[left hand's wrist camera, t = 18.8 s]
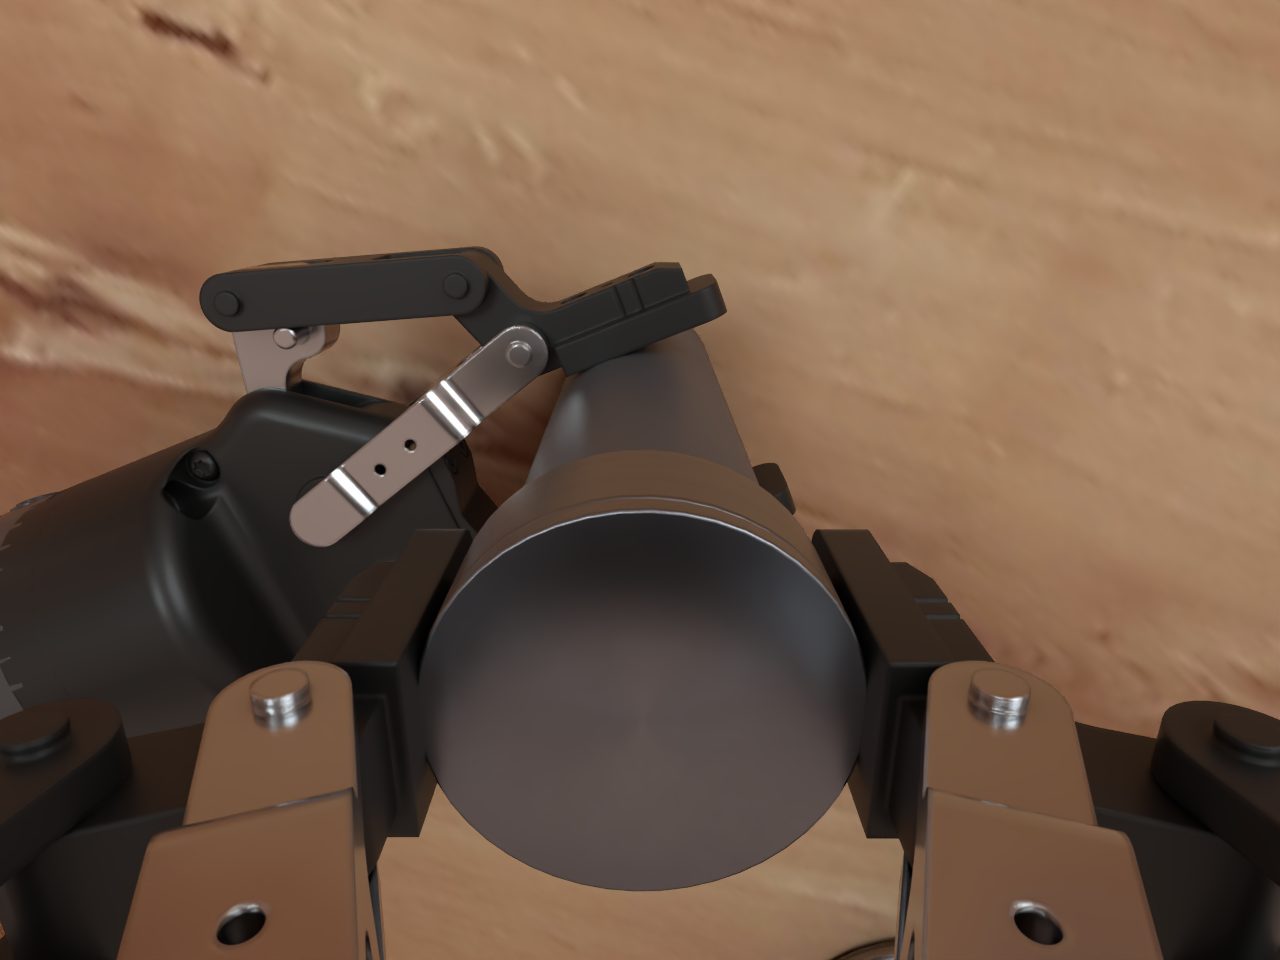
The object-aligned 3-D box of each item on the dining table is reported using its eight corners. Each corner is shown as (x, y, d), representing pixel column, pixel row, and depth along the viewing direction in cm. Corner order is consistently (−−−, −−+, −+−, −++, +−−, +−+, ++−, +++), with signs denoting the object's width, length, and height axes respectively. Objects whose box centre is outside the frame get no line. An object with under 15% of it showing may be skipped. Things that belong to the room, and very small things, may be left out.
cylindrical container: (621, 465, 26) (596, 860, 11) (544, 355, 25) (392, 627, 10) (735, 394, 25) (880, 712, 10) (661, 277, 24) (698, 437, 9)
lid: (853, 455, 10) (902, 518, 8) (807, 783, 12) (840, 898, 10) (445, 440, 10) (399, 500, 8) (460, 773, 12) (426, 887, 10)
